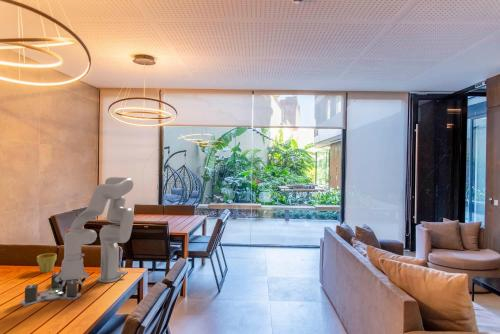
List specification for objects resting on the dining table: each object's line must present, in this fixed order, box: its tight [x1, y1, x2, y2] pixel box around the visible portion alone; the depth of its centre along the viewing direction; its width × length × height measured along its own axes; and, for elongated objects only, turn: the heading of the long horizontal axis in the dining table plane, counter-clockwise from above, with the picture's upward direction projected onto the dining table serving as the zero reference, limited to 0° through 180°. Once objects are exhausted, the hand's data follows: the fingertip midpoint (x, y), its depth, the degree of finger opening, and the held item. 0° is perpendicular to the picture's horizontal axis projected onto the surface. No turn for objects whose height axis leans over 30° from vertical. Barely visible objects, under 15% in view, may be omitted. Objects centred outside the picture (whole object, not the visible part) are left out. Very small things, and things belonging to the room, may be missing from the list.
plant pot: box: [36, 252, 58, 274], centre depth 199 cm, size 10×10×10 cm
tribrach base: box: [20, 286, 83, 307], centre depth 164 cm, size 26×22×3 cm
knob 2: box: [50, 271, 62, 289], centre depth 172 cm, size 5×4×7 cm
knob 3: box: [66, 280, 78, 297], centre depth 161 cm, size 5×4×7 cm
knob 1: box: [24, 284, 39, 302], centre depth 154 cm, size 5×4×7 cm
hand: (72, 291), depth 161 cm, fingers open, 5 cm apart
